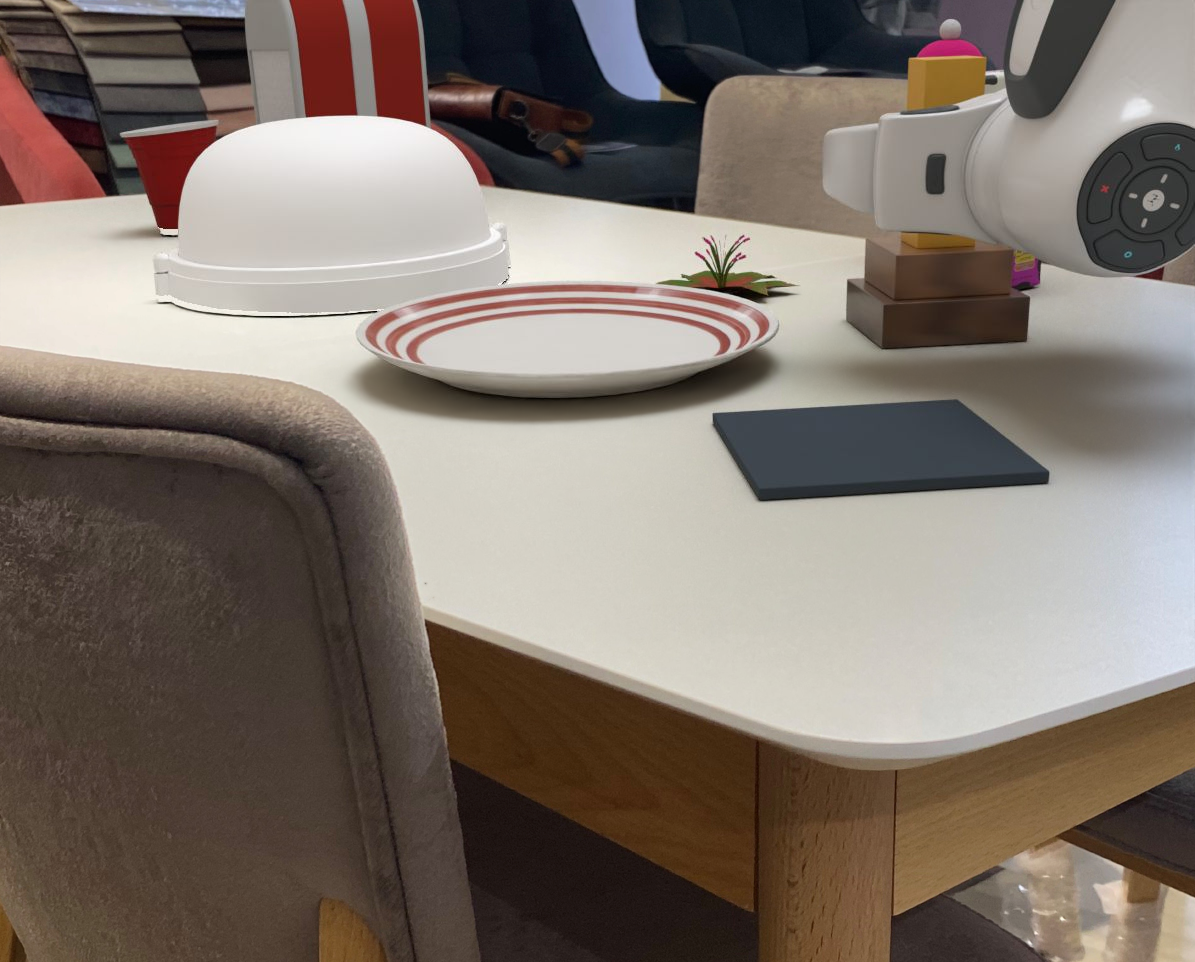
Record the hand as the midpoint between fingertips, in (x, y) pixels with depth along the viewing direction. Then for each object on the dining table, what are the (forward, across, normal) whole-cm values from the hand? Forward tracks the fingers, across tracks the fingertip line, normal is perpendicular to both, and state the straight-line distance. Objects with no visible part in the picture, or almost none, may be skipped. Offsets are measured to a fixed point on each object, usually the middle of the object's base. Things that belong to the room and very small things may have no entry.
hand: (953, 146), depth 94 cm
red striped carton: (+97, +48, +13) cm, 109 cm away
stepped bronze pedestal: (+2, 0, +13) cm, 13 cm away
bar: (+2, 0, +7) cm, 7 cm away
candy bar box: (+15, -7, +13) cm, 21 cm away
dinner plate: (-3, +26, +13) cm, 29 cm away
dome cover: (+34, +44, +13) cm, 57 cm away
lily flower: (+20, +12, +13) cm, 27 cm away
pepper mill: (+30, -9, +13) cm, 34 cm away
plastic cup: (+74, +65, +13) cm, 100 cm away
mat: (-26, +12, +12) cm, 31 cm away
